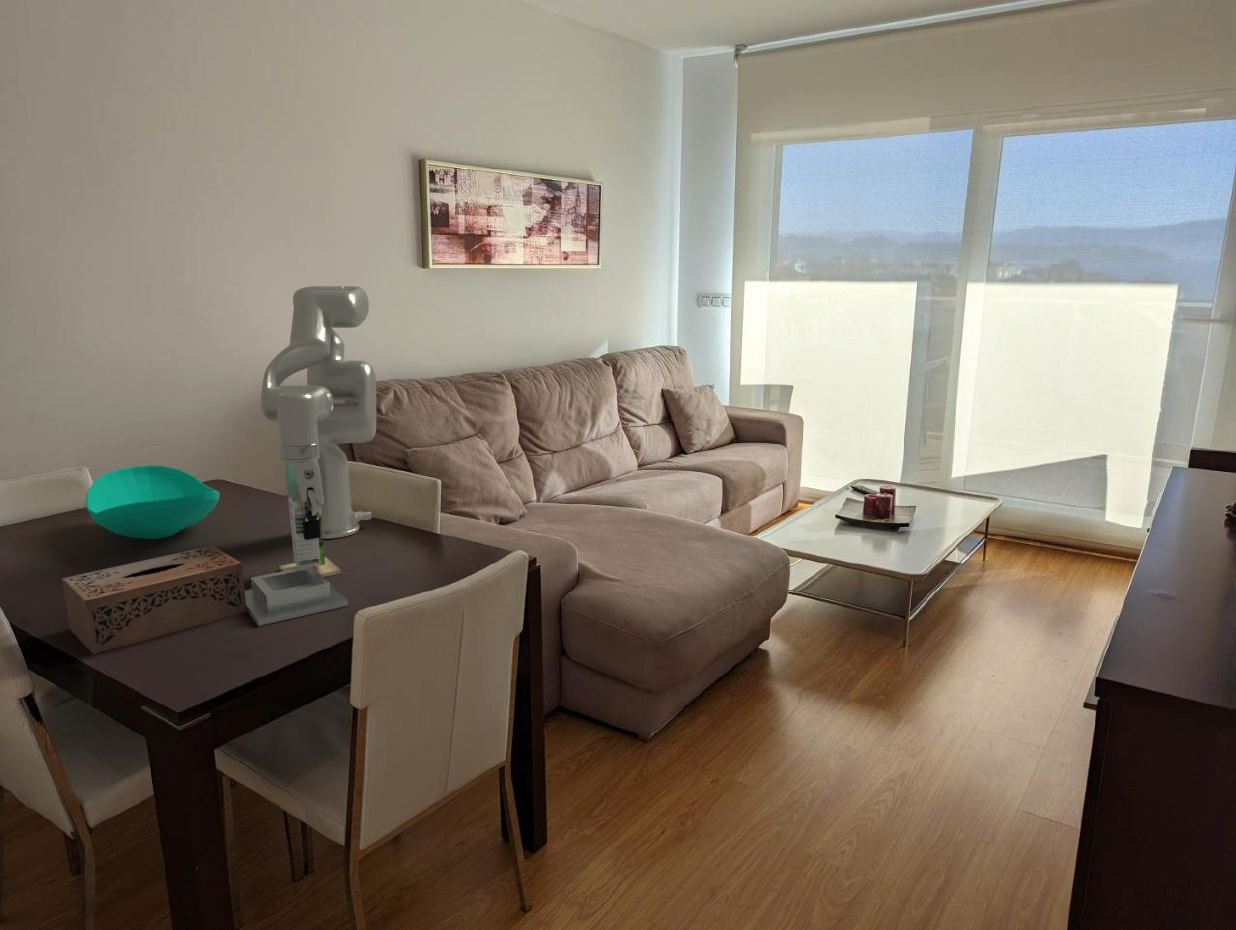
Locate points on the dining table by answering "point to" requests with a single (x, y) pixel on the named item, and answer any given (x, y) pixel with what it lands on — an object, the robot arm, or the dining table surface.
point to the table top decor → (149, 501)
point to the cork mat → (317, 568)
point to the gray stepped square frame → (290, 595)
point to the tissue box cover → (153, 597)
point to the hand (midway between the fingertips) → (307, 533)
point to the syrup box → (304, 549)
